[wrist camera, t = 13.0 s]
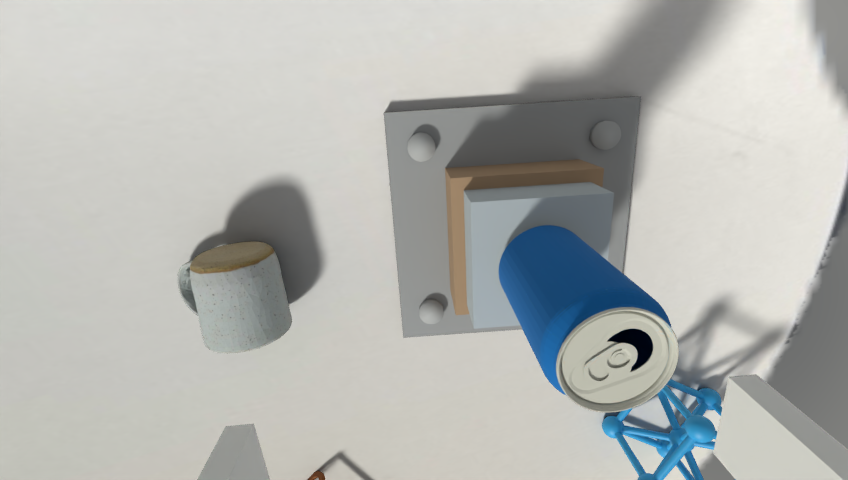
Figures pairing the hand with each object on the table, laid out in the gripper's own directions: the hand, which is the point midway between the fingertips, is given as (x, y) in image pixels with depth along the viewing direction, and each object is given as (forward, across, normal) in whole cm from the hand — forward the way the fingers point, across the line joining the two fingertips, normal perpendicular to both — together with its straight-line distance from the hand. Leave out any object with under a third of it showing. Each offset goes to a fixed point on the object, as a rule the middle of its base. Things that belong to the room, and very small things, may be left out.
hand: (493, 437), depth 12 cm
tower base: (+29, +7, -4) cm, 30 cm away
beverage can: (+19, +7, -4) cm, 20 cm away
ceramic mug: (+29, -19, -7) cm, 36 cm away
